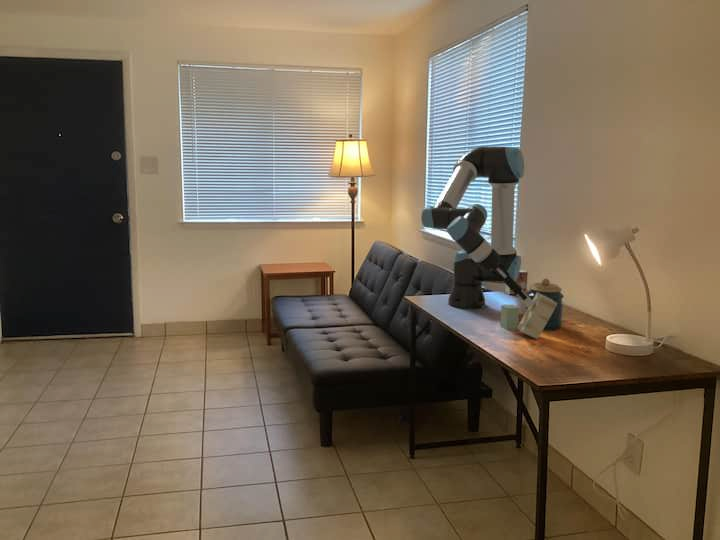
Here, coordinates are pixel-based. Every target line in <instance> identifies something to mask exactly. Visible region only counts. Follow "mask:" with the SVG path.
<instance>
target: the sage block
mask: <svg viewBox="0 0 720 540" xmlns="http://www.w3.org/2000/svg"><path fill="white" fill-rule="evenodd" d="M519 311H520V307H519V306H517V305H515V304H502V305H501V306H500V323H499V324H500V325H499V326H500V328H502V329H503V330H506V331H508V330H509V329H513V330H519V329H518V328H517V327H518V325H519V315H520V314H519ZM509 331H510V330H509Z"/></svg>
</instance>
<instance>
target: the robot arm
mask: <svg viewBox="0 0 720 540" xmlns="http://www.w3.org/2000/svg"><path fill="white" fill-rule="evenodd" d="M452 169H453V170H452V172H453V173H452V174H451V176H450V178H449V179H448V181H447V182H446V185H445V187H444V189H442V191H441V193H440V195H439V196H438V198H437V200H436V201H435V204H434V205H433V206H426V207H424V208H423V209H422V212H421V224H422V226H423V228H424V227H425V228H427V229H428V228H429V229H433V230H435V229H437V230H446V232H447V233H448V235H449V236H450V237H451V239H452V240H453V241H454V242H455V243H457V245H458V246H459V247H460V248H461V249H460V250H457V251H456V252H455V254H454V257H453V258H454V260H453V280H452V281H453V283H452V285H453V286H452V288H451V290H450V294H449V296H448V301H447V302H448V303H447V304H448V305H449V306H451V307H454V308H458V309H459V308H460V309H479V308H478V307H481V308H483V307H482V306H484V305H485V306H486V298H485V295H484V290H483V287H482V286H483V283H482V282H486V283H493V284H494V283H496V284H502V285H505V286H506V285H507V286H508V287H509V288H510V290H512V291H513V292H514V294H513V296H514V297H518V299H519V300H520V301H521V302H522V303H523V304H524V305H525V306H527V307H528V308H530V307H531V306H532V305H533V304H534V301H533V300H532V299H531V298H530V297H529V296H528V295H527V292H526V293H525V292H524V291H523V290H522V288H521V287H522V286H521V285H520V286H518V284H517V283H516V282H515V281H516V279H517V277H518V274H519V271H520V270H521V265H522V257H521V256H520V255H518V253H517V249H516V247H514V226H515V225H514V224H515V223H514V221H515V220H514V219H515V218H514V217H515V216H514V215H515V187H516V186H517V184H519V183H520V179H521V178H523V177H524V174H525V161H524V156H523V153H522V150H521V149H520V148H519V147H513V146H479V147H476V148H473V149H471V150H469V151H467V152H466V153H464V154H463V155H462V156H460V158H459V159H458V160H457V161H456V163H455V164H454V166H453V168H452ZM477 178H488V179H487V182H488V184H489V185H490V186H491V222H490V224H491V225H490V226H491V227H490V229H491V230H490V234H491V235H490V243H489V242H488V241H487V239H485V238H484V237H483V236H482V235H481V233H480V231H481V230H482V228H483V227H484V225H485V224H486V222H487V219H488V212H487V209H486V208H485V206H484V205H482V204H478V203H474V204H471V205H470V206H468V207H467V208H458V206H459V204H460V202H461V200H462V198H463V197H464V195H465V193H466V192H467V189H468V188H469V186H470V184H471V183H472V182H474V181H476V179H477ZM485 306H484V307H485Z"/></svg>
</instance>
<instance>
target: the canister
mask: <svg viewBox="0 0 720 540" xmlns="http://www.w3.org/2000/svg"><path fill="white" fill-rule="evenodd" d="M529 289H530V290H529V291H528V292H527V291H526V294H527V295H528V296H529V297H530V298H531V299H532V300H533V299H534V297H535V295H536V293H537V292H538V293H540V294H542V295H544V296H546V297H548V298H550V299H552V300H553V301H555V302H556V303H558V304H557V306H556V308H555V310H554V311H553V313H552V315H551V317H550V318H549V320H548V322H547V324H546V325H545V327H544V329H543V331H556V330H559V329H561V328H562V324H563V307H564V304H563V299H564V297H565V295H564V294H563V293H562V290H563V289H562V288H561V287H560V286H559V285H557V284H555V283H550V280H549V279H548V278H544V279H542V280H541V282H538V283H537V282H536V283H533V284H532V285H530V286H529ZM525 306H526V305H525ZM525 308H526V310H525V312H526V311H527V309H528V307H527V306H526V307H525Z"/></svg>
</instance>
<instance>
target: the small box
mask: <svg viewBox="0 0 720 540" xmlns="http://www.w3.org/2000/svg"><path fill="white" fill-rule="evenodd" d="M528 274H529V273H528V271H526V270H525V269H520V271H519V274H518V277H517V279H516V281H515V282H516V283H517V284H518V286H520V285H521V286H522V287H521V288H522V290H523V291H524V292H525V293H526V294H527V288H528V286H527V285H528ZM505 293H506V294H508V295H509V294H514V292H513V291H512V290H510V288H509V287H508V286H507V285H506V284H505Z"/></svg>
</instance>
